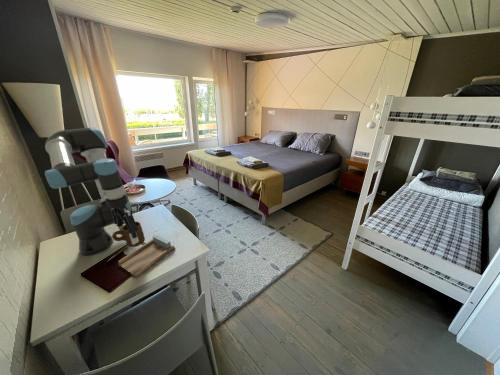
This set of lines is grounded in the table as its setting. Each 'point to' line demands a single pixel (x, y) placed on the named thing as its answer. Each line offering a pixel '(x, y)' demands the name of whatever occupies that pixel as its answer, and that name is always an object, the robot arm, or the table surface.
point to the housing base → (144, 258)
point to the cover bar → (161, 241)
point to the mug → (127, 237)
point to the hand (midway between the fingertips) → (130, 240)
